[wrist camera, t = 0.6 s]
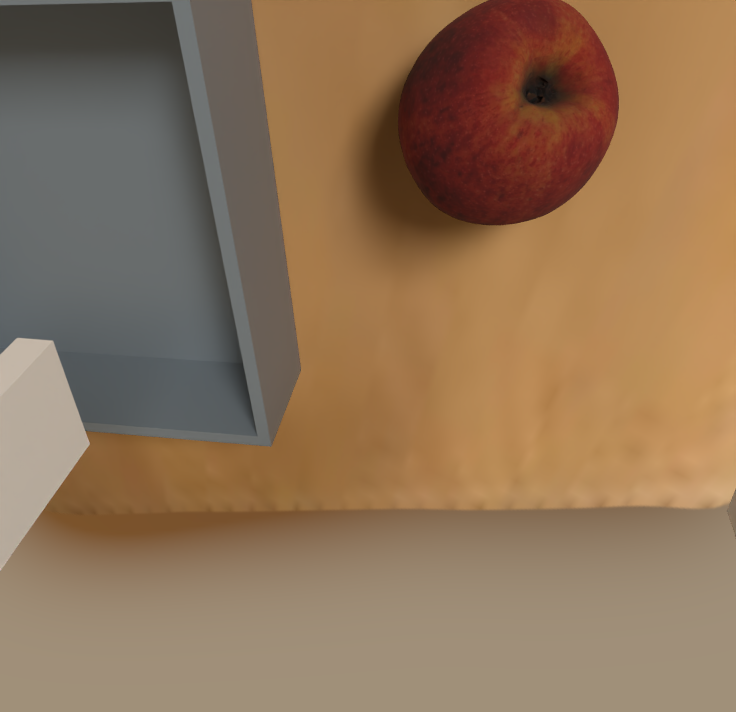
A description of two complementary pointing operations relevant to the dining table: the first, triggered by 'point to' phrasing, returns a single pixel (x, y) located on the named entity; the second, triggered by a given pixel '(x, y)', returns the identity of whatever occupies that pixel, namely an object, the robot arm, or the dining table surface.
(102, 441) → the dining table surface
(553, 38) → the apple
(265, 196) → the tub
